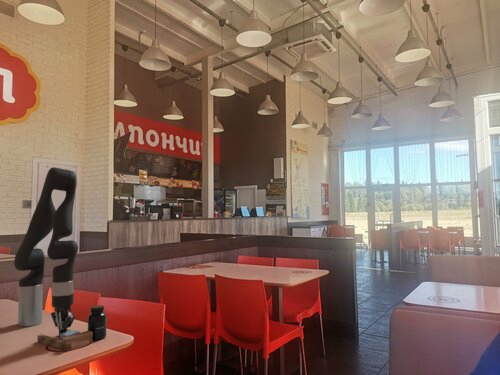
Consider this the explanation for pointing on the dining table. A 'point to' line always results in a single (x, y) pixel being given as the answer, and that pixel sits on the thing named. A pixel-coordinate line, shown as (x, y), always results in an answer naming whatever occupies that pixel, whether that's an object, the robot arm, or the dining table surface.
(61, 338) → the block
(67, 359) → the dining table surface
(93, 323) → the supplement bottle
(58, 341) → the track
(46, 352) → the dining table surface
